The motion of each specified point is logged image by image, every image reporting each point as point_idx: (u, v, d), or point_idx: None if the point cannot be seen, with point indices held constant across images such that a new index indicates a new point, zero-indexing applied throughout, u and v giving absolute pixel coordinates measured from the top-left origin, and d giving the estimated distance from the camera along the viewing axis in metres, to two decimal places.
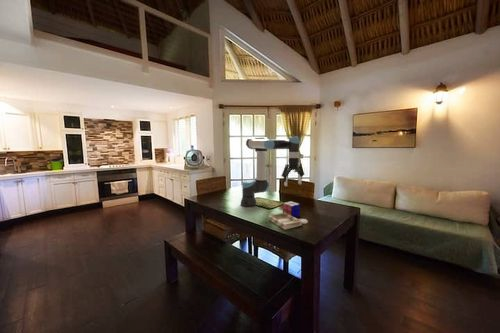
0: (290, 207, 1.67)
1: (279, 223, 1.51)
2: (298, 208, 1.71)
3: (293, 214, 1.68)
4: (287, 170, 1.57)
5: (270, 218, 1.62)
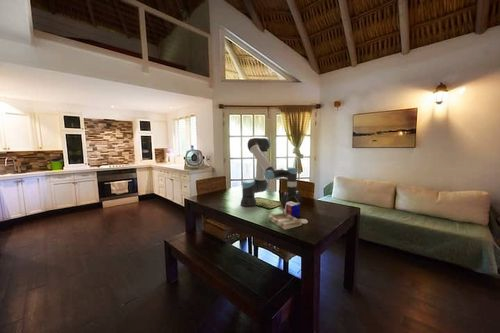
0: (290, 207, 1.67)
1: (279, 223, 1.51)
2: (298, 208, 1.71)
3: (293, 214, 1.68)
4: (286, 198, 1.70)
5: (270, 218, 1.62)
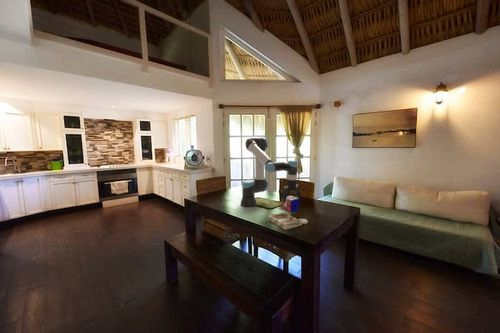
0: (289, 201, 1.67)
1: (279, 223, 1.51)
2: (298, 202, 1.71)
3: (292, 208, 1.68)
4: None
5: (270, 218, 1.62)
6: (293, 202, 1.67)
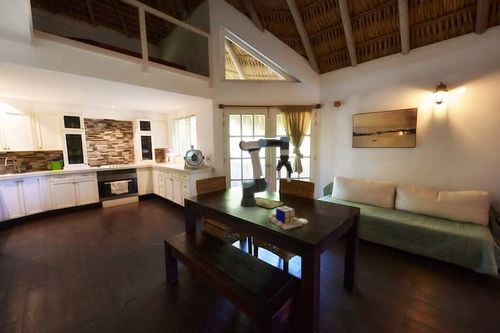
0: None
1: (279, 223, 1.51)
2: (283, 215, 1.52)
3: (277, 218, 1.57)
4: None
5: (270, 218, 1.62)
6: (278, 211, 1.56)
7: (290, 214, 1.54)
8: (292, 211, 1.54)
